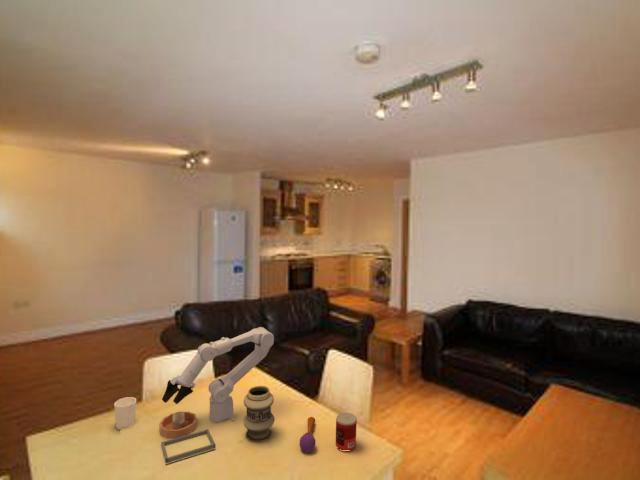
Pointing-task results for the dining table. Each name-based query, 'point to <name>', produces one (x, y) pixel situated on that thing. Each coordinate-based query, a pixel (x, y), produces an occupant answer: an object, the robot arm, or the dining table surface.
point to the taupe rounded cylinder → (178, 420)
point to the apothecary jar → (258, 413)
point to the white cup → (125, 412)
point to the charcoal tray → (185, 454)
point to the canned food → (346, 431)
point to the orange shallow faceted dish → (168, 431)
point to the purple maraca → (308, 437)
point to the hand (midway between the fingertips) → (169, 401)
